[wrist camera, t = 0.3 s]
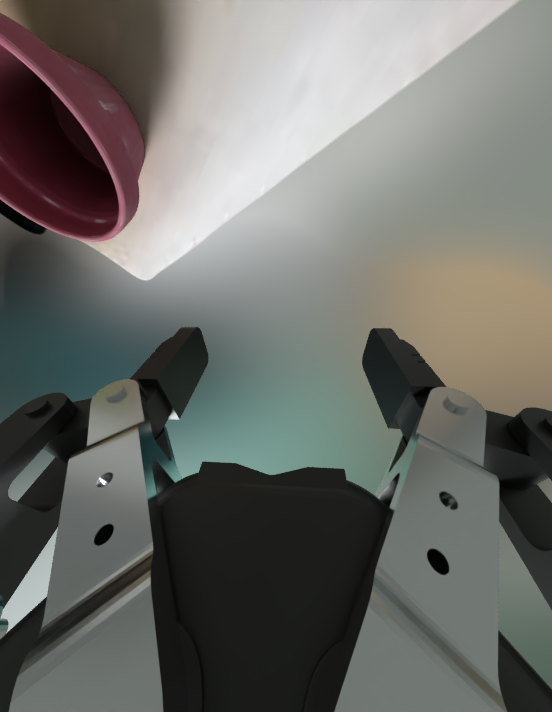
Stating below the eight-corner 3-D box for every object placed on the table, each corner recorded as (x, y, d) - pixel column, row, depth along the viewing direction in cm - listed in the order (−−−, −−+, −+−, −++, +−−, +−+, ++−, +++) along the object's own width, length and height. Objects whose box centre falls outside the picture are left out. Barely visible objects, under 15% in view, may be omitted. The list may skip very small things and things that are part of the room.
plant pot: (-18, 57, 21) (-172, 64, 14) (78, -33, 17) (-65, -86, 10) (114, 211, 32) (67, 257, 25) (188, 177, 28) (158, 221, 21)
